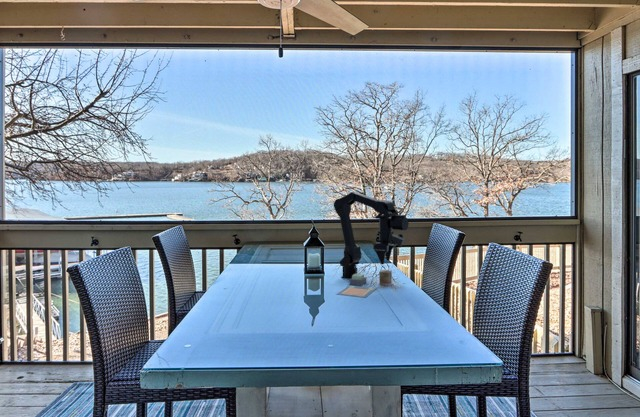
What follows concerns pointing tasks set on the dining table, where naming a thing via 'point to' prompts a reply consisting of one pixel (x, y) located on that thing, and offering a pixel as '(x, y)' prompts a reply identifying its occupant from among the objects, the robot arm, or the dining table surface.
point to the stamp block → (385, 277)
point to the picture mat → (356, 291)
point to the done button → (358, 276)
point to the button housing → (358, 281)
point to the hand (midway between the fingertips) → (385, 262)
